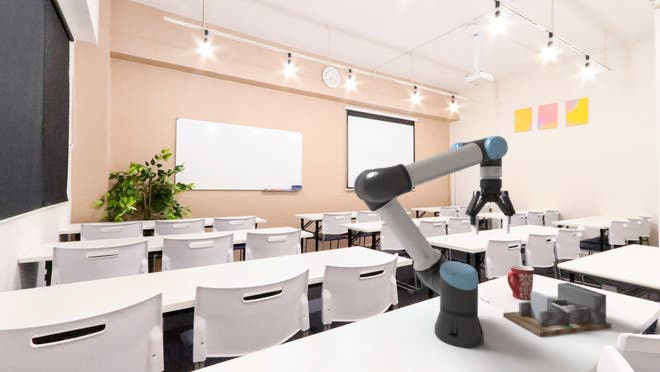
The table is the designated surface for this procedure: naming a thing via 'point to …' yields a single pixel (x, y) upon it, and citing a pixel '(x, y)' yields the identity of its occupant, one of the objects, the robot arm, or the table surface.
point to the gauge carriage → (545, 306)
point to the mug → (521, 281)
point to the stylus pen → (491, 302)
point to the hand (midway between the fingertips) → (490, 233)
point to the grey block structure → (583, 316)
